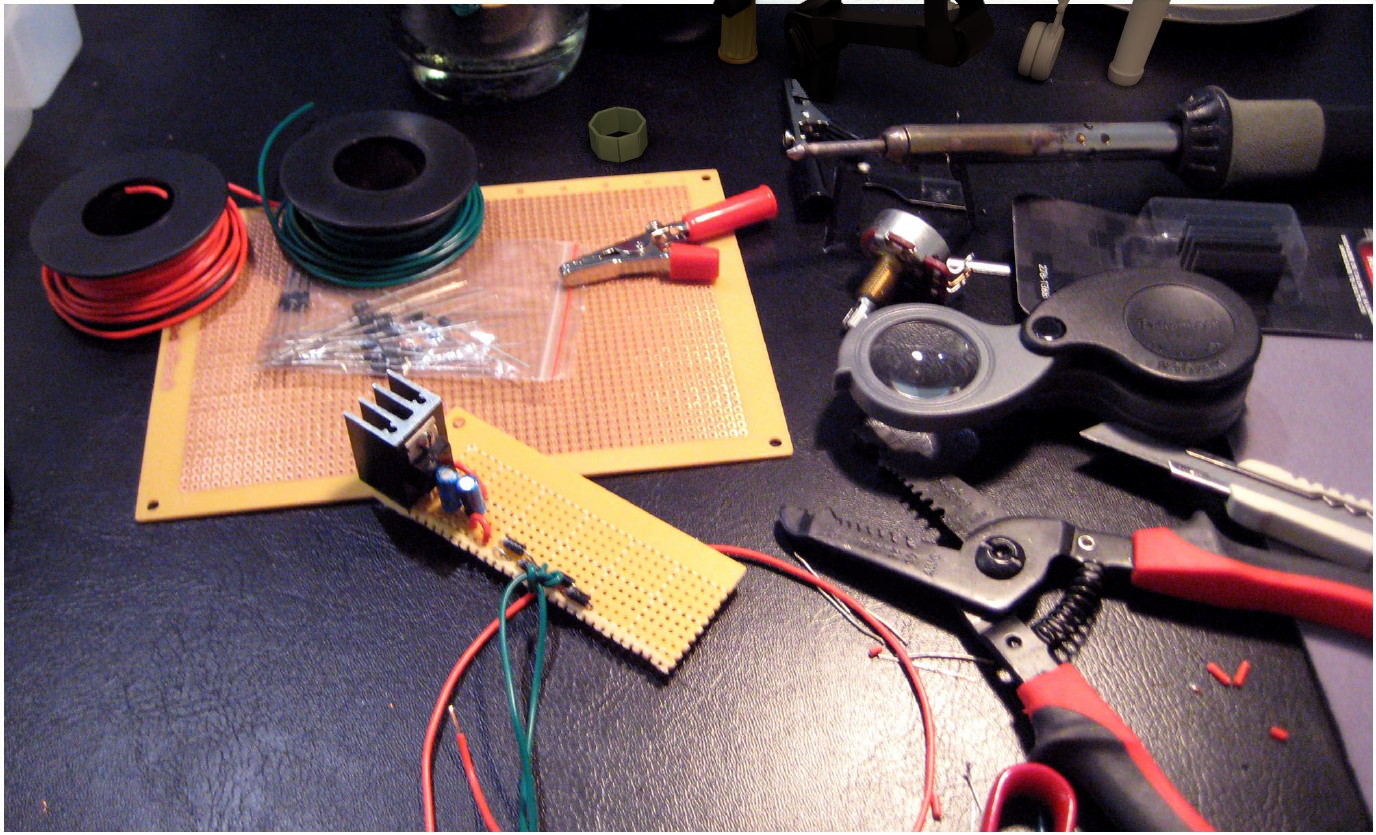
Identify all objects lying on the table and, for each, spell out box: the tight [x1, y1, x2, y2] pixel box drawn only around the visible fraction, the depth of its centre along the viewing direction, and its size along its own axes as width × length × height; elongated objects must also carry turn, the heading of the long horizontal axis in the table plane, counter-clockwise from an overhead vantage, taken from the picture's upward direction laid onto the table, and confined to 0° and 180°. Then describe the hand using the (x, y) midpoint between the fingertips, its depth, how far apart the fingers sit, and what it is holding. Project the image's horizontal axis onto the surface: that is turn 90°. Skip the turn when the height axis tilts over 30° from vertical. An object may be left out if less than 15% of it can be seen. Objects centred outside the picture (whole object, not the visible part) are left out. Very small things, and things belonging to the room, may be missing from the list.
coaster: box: [717, 46, 759, 65], centre depth 154 cm, size 7×7×1 cm
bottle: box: [1107, 0, 1172, 87], centre depth 137 cm, size 5×5×25 cm
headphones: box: [948, 0, 1071, 82], centre depth 143 cm, size 20×8×19 cm, turn 62°
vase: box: [719, 0, 758, 60], centre depth 149 cm, size 6×6×14 cm
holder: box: [587, 106, 649, 163], centre depth 138 cm, size 8×8×4 cm
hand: (732, 0), depth 149 cm, fingers open, 9 cm apart
